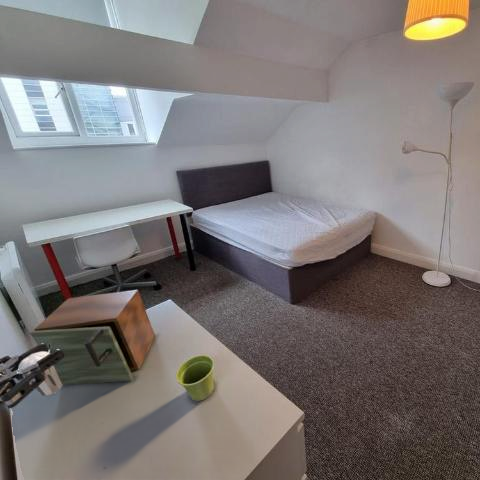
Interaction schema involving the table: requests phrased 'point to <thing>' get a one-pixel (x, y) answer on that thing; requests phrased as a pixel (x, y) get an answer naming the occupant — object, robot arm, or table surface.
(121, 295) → the cupboard
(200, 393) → the plant pot
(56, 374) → the milkshake
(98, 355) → the cupboard door
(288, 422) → the table surface
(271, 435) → the table surface
